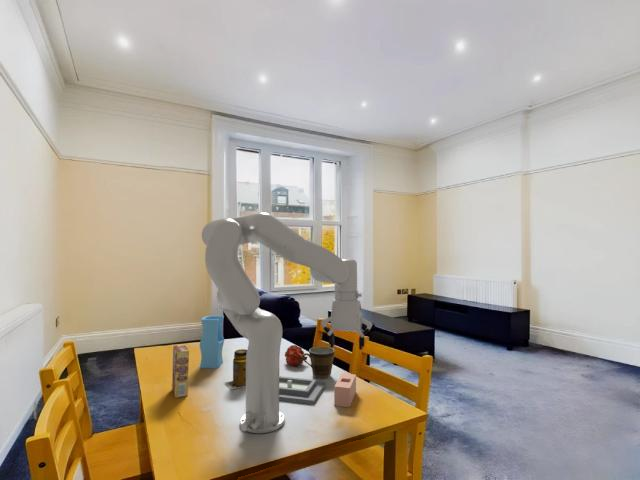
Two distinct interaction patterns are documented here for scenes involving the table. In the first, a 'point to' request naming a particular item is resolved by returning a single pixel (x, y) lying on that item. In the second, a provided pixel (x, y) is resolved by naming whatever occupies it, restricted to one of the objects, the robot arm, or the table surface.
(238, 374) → the condiment
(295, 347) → the dragon fruit
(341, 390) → the pink block with hole
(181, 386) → the candy box
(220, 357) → the vase
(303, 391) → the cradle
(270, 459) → the table surface
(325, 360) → the ceramic cup
